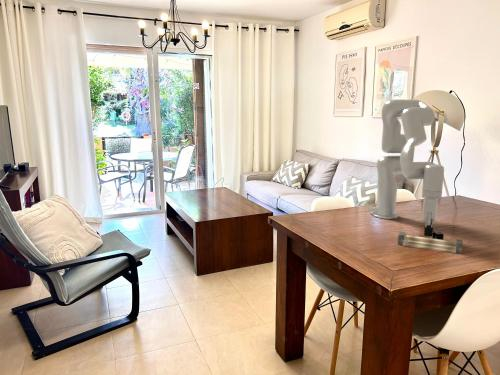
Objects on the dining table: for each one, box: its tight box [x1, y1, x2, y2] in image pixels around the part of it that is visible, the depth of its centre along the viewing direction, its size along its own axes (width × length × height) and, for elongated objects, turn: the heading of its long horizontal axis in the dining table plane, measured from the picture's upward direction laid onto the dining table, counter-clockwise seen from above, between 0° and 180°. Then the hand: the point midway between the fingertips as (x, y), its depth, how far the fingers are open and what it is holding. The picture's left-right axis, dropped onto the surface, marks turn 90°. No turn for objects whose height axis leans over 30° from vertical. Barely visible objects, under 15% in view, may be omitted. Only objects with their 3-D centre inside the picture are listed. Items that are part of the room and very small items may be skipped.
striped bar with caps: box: [397, 231, 464, 254], centre depth 151 cm, size 23×6×4 cm, turn 62°
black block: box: [431, 230, 445, 240], centre depth 157 cm, size 12×7×5 cm, turn 173°
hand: (428, 235), depth 161 cm, fingers closed
